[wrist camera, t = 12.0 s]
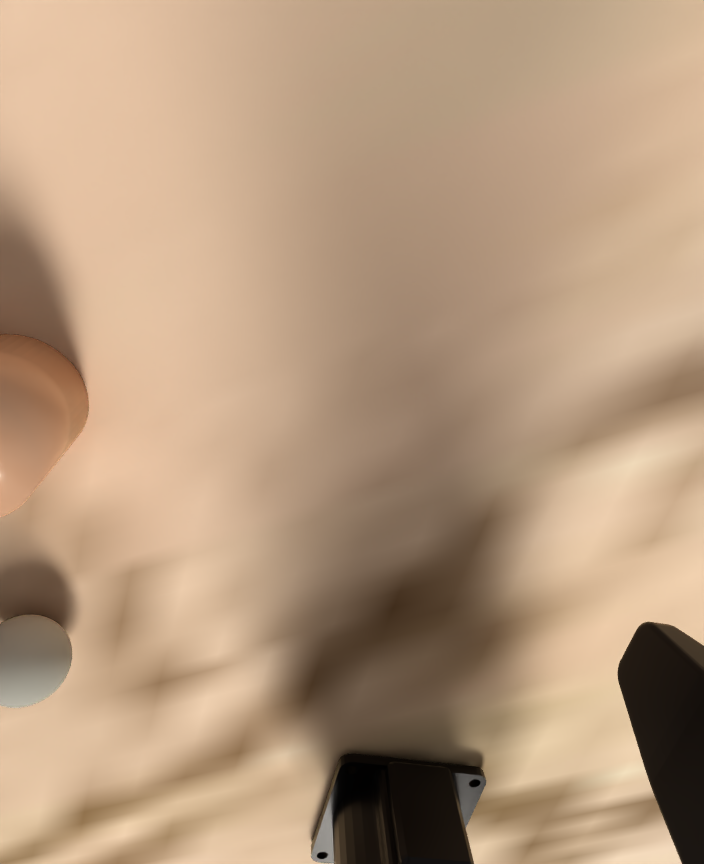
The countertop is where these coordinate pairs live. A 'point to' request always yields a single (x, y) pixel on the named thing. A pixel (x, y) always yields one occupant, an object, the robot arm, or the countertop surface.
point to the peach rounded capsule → (35, 415)
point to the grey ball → (32, 659)
